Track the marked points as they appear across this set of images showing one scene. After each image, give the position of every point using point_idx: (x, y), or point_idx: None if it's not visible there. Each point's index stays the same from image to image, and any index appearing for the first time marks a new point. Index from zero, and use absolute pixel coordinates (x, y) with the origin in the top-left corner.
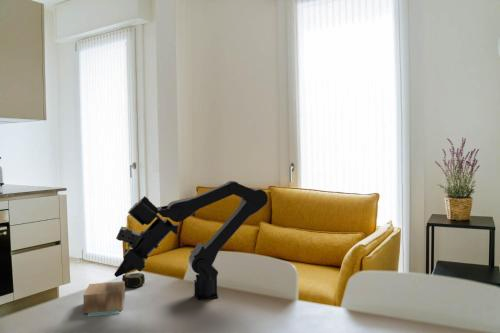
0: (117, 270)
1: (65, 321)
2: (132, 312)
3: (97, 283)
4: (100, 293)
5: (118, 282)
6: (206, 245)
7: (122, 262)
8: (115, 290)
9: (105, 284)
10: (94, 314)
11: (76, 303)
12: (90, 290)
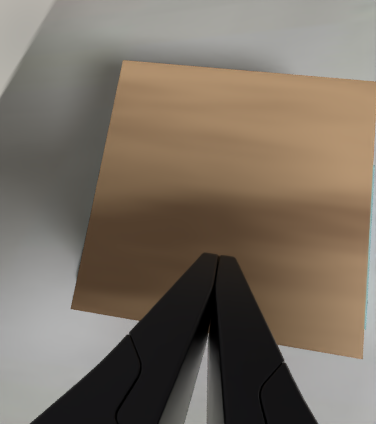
0: (173, 289)
1: (98, 52)
2: (65, 355)
3: (371, 137)
4: (106, 161)
5: (338, 302)
6: None
7: (88, 388)
8: (128, 265)
9: (318, 196)
10: None
11: (330, 76)
12: (207, 96)
